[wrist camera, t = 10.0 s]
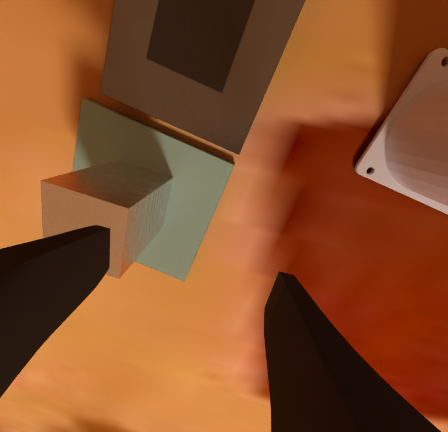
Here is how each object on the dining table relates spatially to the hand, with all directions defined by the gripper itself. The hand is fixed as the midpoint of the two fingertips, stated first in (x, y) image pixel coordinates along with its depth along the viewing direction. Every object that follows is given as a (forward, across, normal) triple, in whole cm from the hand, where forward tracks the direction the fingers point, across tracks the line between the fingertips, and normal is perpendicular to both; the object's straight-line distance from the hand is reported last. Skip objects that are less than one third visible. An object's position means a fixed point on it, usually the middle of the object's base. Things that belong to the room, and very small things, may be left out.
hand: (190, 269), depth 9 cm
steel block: (+9, +6, +1) cm, 11 cm away
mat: (+10, +6, +2) cm, 12 cm away
